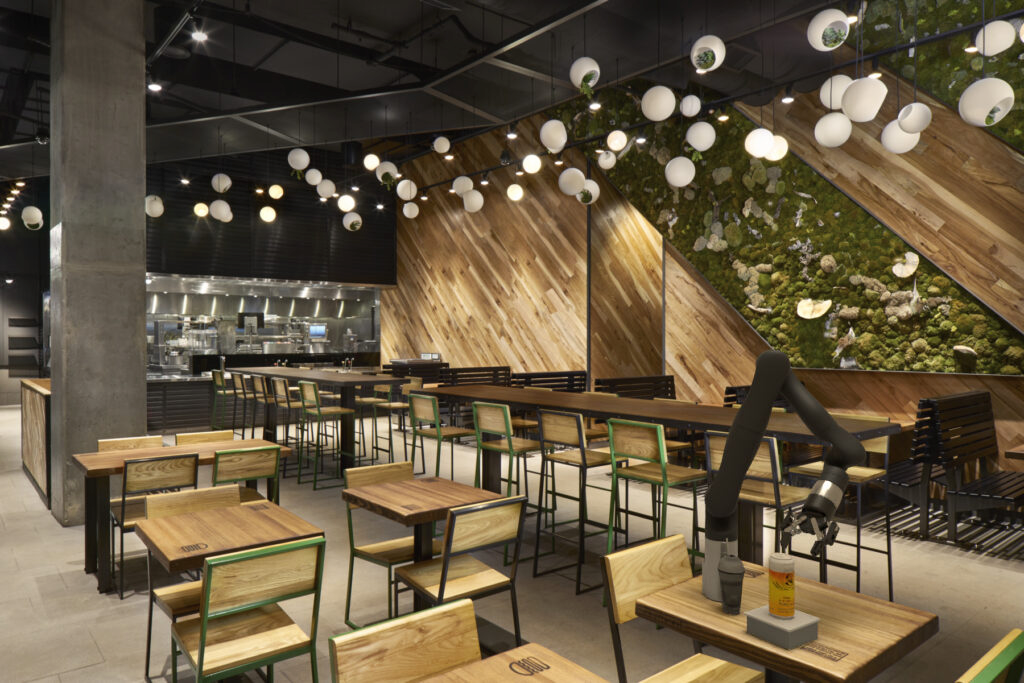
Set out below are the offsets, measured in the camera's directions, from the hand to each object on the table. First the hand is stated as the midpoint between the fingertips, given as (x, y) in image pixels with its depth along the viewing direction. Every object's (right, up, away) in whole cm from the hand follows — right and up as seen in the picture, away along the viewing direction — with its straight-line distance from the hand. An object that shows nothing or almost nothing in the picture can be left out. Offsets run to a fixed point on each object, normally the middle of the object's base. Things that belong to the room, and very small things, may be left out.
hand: (797, 550), depth 170 cm
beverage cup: (-14, -21, +11) cm, 27 cm away
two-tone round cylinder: (-6, -15, -4) cm, 17 cm away
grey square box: (-6, -20, -4) cm, 21 cm away
